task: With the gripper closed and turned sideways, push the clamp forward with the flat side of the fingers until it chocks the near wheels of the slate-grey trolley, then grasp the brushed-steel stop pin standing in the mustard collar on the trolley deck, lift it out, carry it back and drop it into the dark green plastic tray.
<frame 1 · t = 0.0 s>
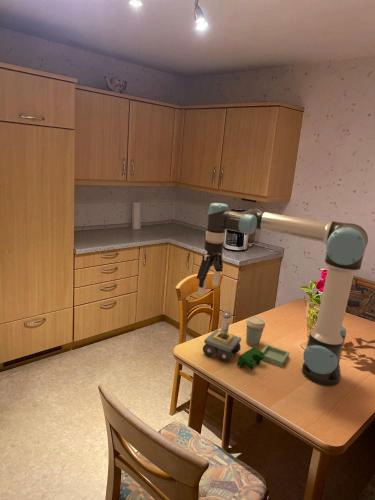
hand: (208, 289, 158), 28 cm above the table, fingers open, 13 cm apart
trolley: (221, 354, 162), on the table
tray: (273, 358, 163), on the table
stop pin: (223, 338, 160), point 7 cm above the table, touching trolley
coffee cup: (252, 344, 174), on the table
clamp: (250, 365, 156), on the table
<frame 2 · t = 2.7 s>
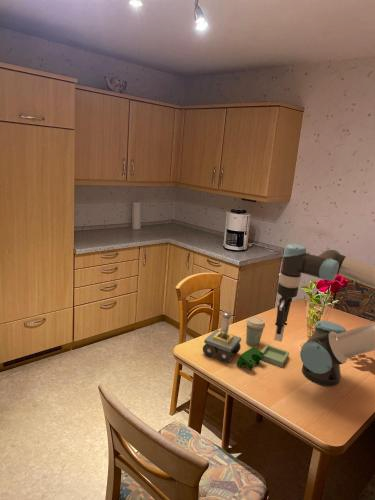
hand: (278, 339, 148), 15 cm above the table, fingers closed
nothing on the table moved.
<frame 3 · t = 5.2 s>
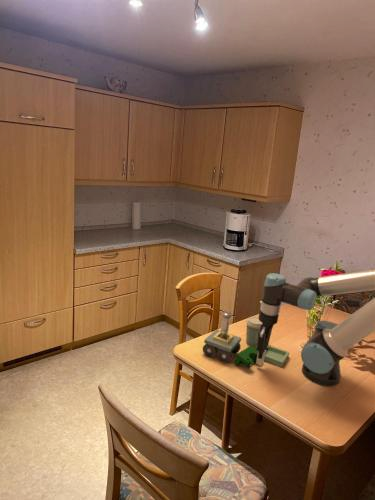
hand: (259, 363, 154), 2 cm above the table, fingers closed
clamp: (247, 364, 157), on the table, touching gripper
everything else where it was.
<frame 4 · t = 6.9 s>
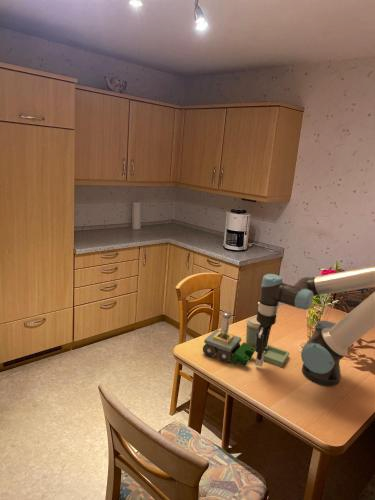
hand: (258, 364, 154), 2 cm above the table, fingers closed
clamp: (242, 361, 158), on the table
everything else where it was.
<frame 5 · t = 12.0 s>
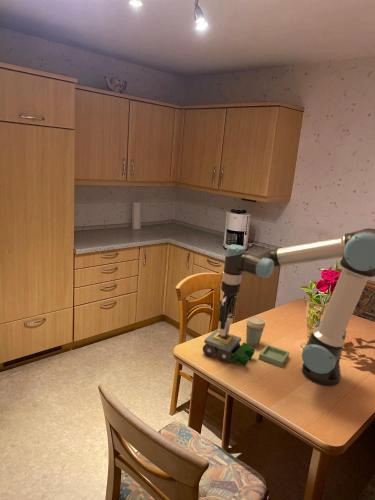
hand: (223, 333, 159), 10 cm above the table, fingers closed on stop pin, 3 cm apart
stop pin: (223, 338, 160), point 7 cm above the table, touching gripper, trolley
everything else where it was.
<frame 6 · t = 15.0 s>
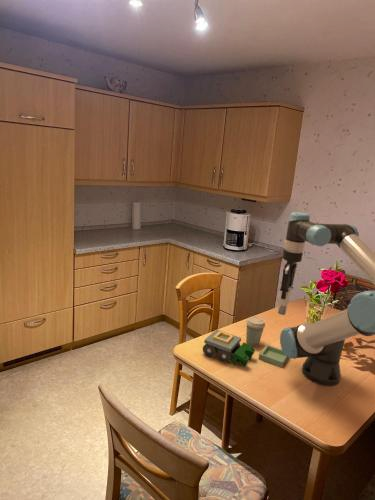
hand: (283, 304, 156), 26 cm above the table, fingers closed on stop pin, 3 cm apart
stop pin: (281, 313, 158), point 22 cm above the table, touching gripper
everything else where it was.
when the fingers open (5 cm above the table, at t = 18.3 s): stop pin stays where it is, resting on tray.
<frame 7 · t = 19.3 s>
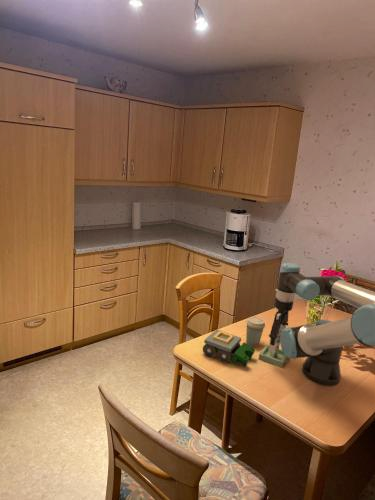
hand: (276, 344, 162), 7 cm above the table, fingers open, 13 cm apart
stop pin: (273, 356, 163), point 1 cm above the table, touching tray
everything else where it was.
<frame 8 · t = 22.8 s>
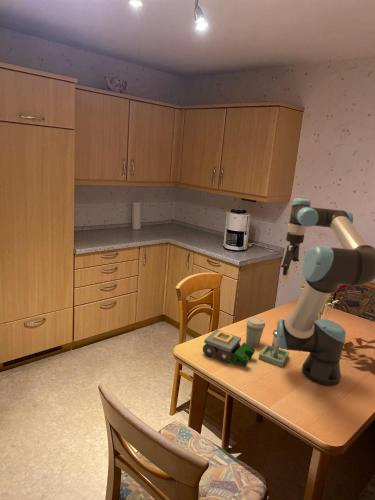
hand: (287, 277, 172), 32 cm above the table, fingers open, 13 cm apart
nothing on the table moved.
at the end: clamp inside the target area (1.4 cm from its centre), on the table; stop pin inside the target area on the tray (0.1 cm from its centre), point 0.6 cm above the tray's base; the gripper is holding nothing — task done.
